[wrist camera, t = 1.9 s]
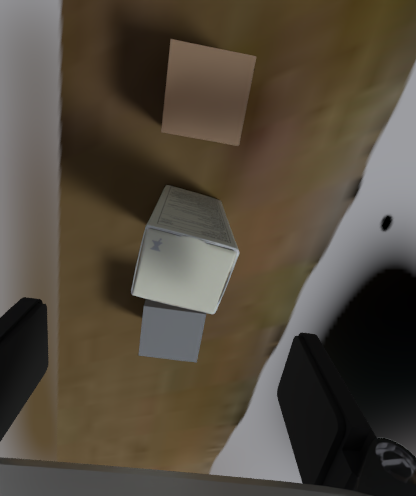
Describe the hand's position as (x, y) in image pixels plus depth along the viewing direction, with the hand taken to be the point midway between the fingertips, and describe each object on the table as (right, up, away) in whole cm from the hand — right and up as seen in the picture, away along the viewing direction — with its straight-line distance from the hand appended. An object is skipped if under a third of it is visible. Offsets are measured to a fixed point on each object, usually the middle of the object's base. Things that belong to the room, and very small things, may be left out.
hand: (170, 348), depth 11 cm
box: (0, +7, +15) cm, 16 cm away
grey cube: (-2, -2, +18) cm, 18 cm away
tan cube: (+1, +15, +11) cm, 19 cm away
